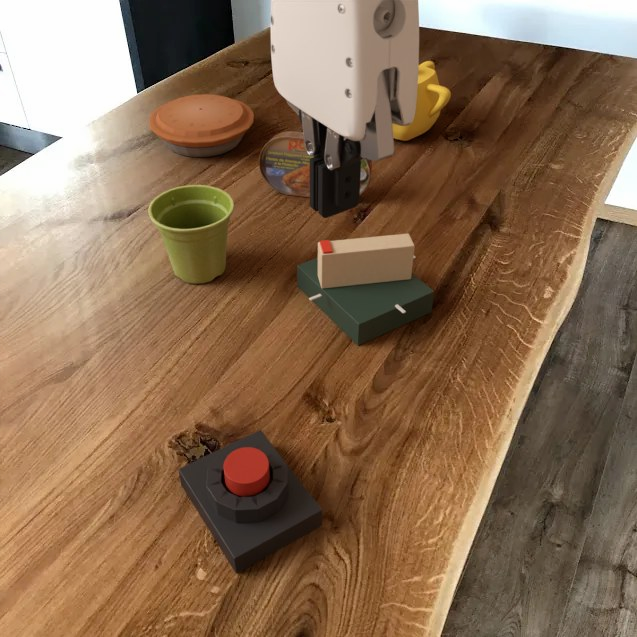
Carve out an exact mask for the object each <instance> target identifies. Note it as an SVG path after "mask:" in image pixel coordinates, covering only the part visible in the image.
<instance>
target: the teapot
mask: <svg viewBox="0 0 637 637" xmlns="http://www.w3.org/2000/svg"><path fill="white" fill-rule="evenodd" d="M435 68H436V66H435V62H433V61H432V60H426V61H424V62H422V63H421V64H419V67H418V87H417V101H416V110H415V116H414V119H413V122H412V123H411V124H409V125H407V126H400V125H396V124H394V123H392V127H393V139H395V140H400V141H404V142H407V141H410V140H412V139H414V138H417V137H419V136H421V135H423V134H424V133H426V132H427V131H429V130H430V129H431V128H432V127H433V126H434V124H435V123H436V121H437V120H438V119H439V116H440V114H441V110H443V109H444V108H445V107H446V106H447V105H448V103H449V101H450V99H451V96H452V93H451V90H450V89H449V88H447V87H446V86H443V85H440V82H439V77H438V74H437V72H436V70H435Z"/></svg>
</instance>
